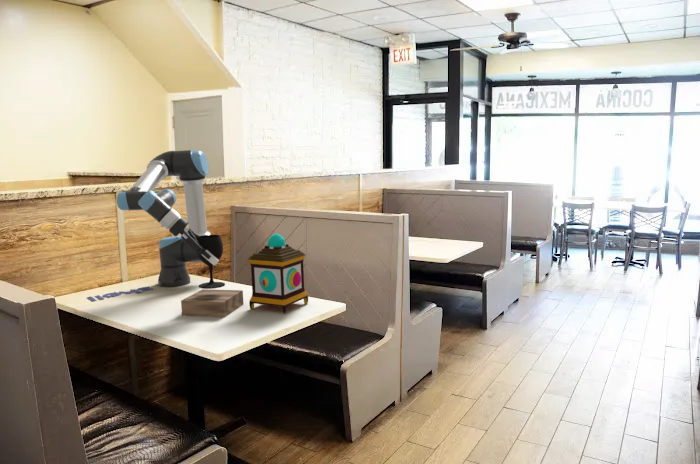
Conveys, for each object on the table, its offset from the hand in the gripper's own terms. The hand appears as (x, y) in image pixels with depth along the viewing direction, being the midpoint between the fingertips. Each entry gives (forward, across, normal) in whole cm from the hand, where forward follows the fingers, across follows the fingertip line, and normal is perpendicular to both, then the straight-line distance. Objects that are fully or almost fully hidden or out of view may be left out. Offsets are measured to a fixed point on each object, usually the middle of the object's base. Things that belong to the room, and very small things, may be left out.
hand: (218, 260), depth 218 cm
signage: (-19, -38, -48) cm, 64 cm away
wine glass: (+5, 0, -9) cm, 11 cm away
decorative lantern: (+31, +1, +2) cm, 31 cm away
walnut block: (+12, 0, -16) cm, 20 cm away
